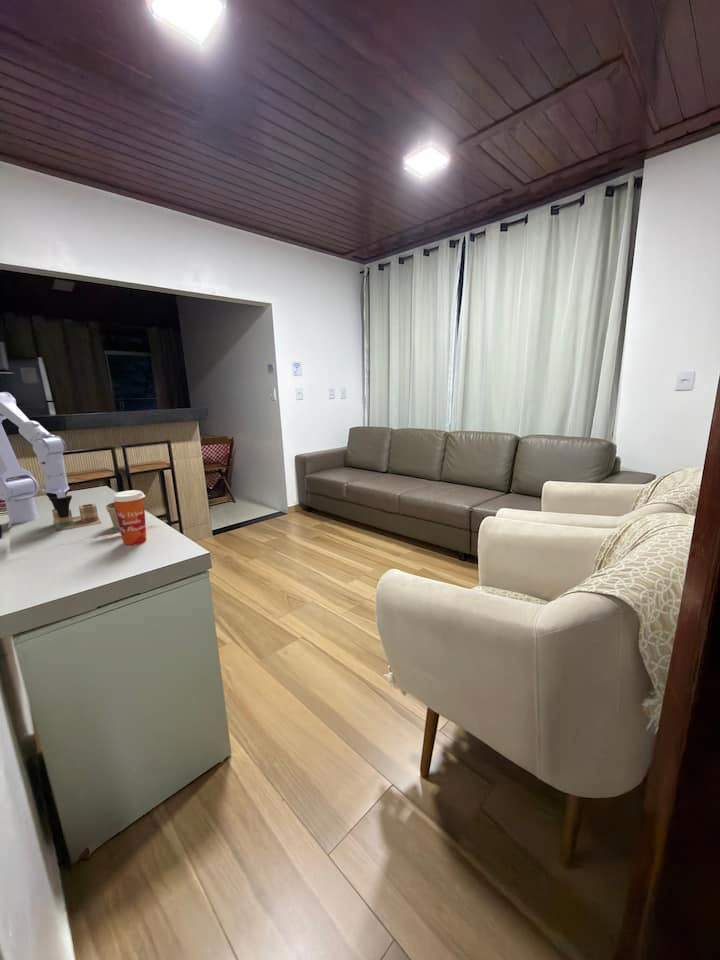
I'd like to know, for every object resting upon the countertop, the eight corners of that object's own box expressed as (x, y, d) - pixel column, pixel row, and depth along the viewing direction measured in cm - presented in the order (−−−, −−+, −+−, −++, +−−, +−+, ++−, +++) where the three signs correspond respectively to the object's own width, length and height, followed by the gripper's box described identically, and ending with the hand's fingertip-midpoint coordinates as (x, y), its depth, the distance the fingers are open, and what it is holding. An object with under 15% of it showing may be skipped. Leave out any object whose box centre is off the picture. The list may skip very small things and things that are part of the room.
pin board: (53, 523, 128) (51, 509, 127) (96, 516, 135) (93, 502, 134) (56, 535, 117) (53, 519, 116) (102, 526, 125) (99, 511, 124)
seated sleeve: (81, 519, 129) (78, 505, 127) (96, 516, 131) (94, 503, 130) (82, 522, 125) (80, 508, 124) (98, 519, 128) (96, 505, 127)
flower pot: (131, 534, 118) (127, 508, 116) (101, 534, 118) (97, 508, 116) (148, 524, 127) (144, 499, 125) (120, 524, 128) (117, 499, 126)
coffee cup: (117, 548, 107) (109, 498, 104) (120, 539, 114) (113, 491, 111) (150, 543, 111) (144, 494, 108) (151, 534, 118) (145, 488, 115)
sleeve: (54, 524, 124) (51, 509, 123) (71, 521, 127) (68, 506, 126) (56, 527, 121) (53, 512, 120) (73, 524, 124) (70, 509, 123)
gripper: (36, 473, 122) (43, 512, 125) (41, 480, 112) (49, 523, 115) (63, 470, 127) (70, 508, 130) (70, 476, 117) (77, 517, 120)
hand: (62, 514), depth 123 cm, fingers open, 6 cm apart
